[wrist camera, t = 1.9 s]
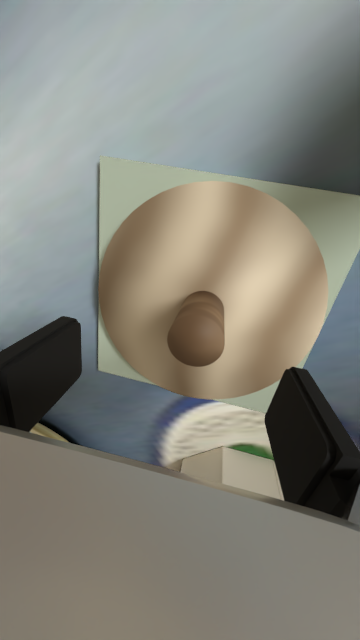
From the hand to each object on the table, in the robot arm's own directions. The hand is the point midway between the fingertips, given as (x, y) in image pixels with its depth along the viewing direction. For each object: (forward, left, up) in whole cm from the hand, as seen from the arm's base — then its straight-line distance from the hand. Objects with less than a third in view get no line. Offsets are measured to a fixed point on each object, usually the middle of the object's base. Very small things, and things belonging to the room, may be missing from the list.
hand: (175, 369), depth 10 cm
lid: (-1, 0, -9) cm, 9 cm away
